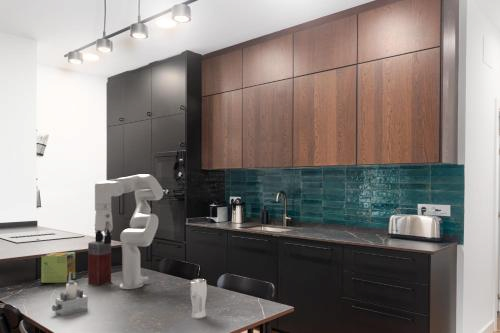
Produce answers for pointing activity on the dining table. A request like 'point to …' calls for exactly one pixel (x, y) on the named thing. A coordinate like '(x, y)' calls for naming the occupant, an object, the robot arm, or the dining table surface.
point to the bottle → (71, 290)
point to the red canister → (99, 262)
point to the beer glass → (198, 297)
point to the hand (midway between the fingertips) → (103, 242)
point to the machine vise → (71, 304)
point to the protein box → (57, 267)
